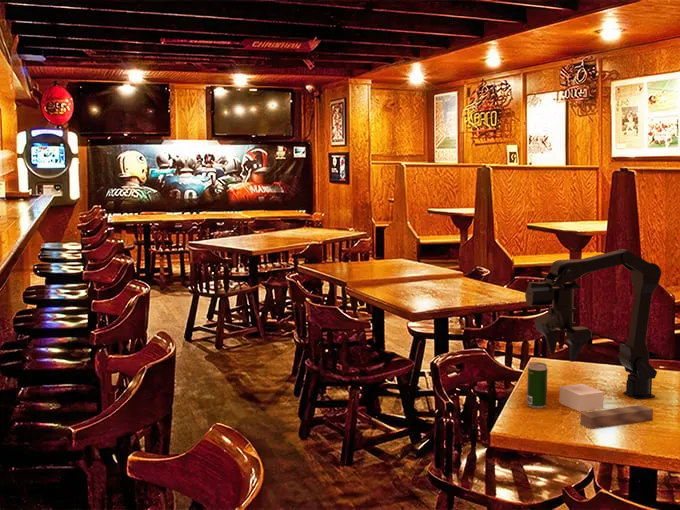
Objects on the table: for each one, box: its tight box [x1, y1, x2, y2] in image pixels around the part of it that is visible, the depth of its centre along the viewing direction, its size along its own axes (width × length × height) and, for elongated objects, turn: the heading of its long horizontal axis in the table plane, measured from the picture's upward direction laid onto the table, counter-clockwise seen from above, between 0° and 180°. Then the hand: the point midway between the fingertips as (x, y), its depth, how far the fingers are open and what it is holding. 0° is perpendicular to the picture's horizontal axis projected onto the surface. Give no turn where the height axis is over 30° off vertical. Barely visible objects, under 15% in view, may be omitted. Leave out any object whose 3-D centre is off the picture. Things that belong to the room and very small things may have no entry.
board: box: [580, 404, 654, 430], centre depth 203 cm, size 20×4×3 cm, turn 110°
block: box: [559, 383, 605, 413], centre depth 217 cm, size 8×9×5 cm
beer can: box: [526, 361, 548, 410], centre depth 216 cm, size 5×5×12 cm
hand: (562, 357), depth 222 cm, fingers open, 9 cm apart
